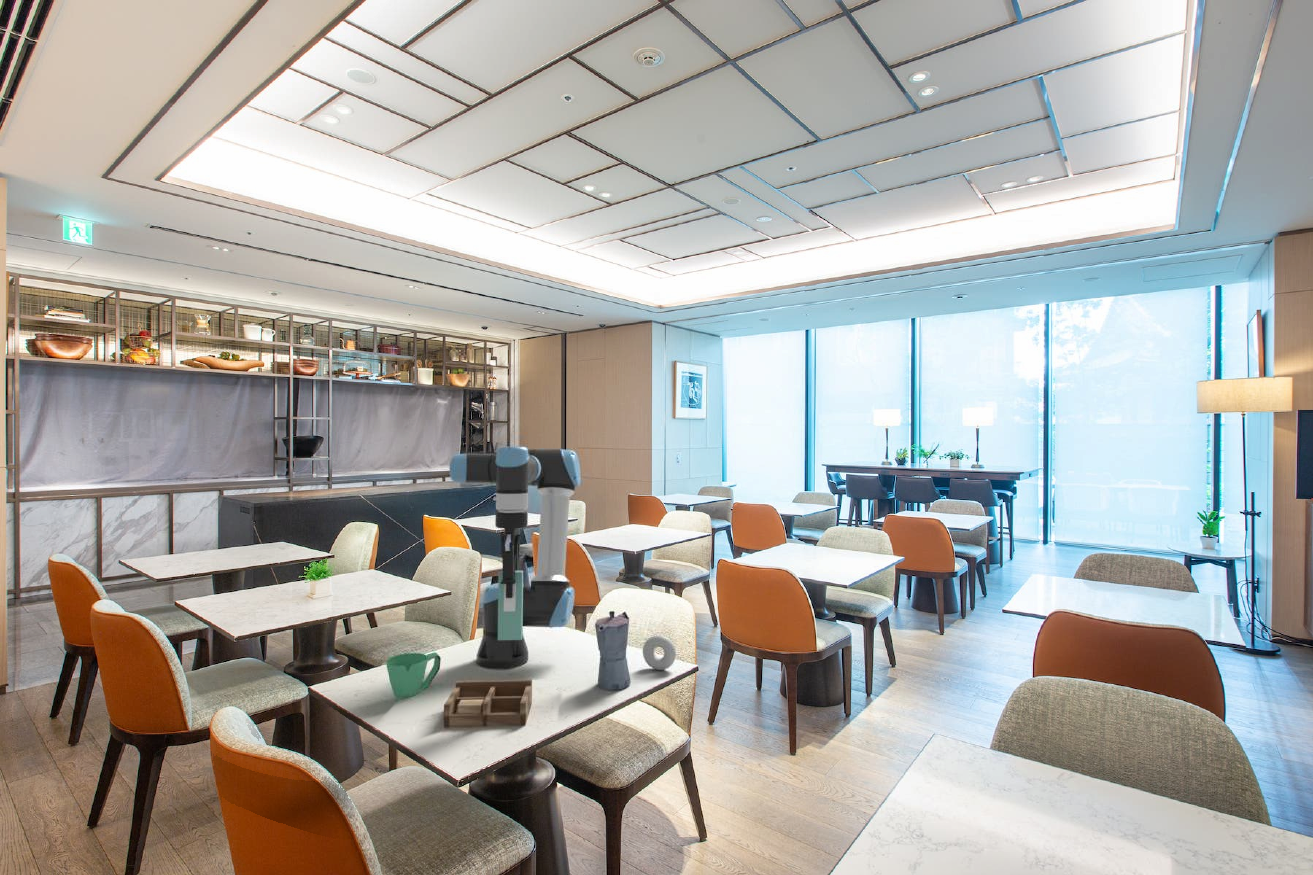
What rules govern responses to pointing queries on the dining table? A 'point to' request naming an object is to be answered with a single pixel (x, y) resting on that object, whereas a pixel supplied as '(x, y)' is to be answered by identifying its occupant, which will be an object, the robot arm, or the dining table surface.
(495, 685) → the rack
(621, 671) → the moka pot
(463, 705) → the offcut top
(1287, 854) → the dining table surface
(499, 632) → the panel
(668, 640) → the donut
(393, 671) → the mug
